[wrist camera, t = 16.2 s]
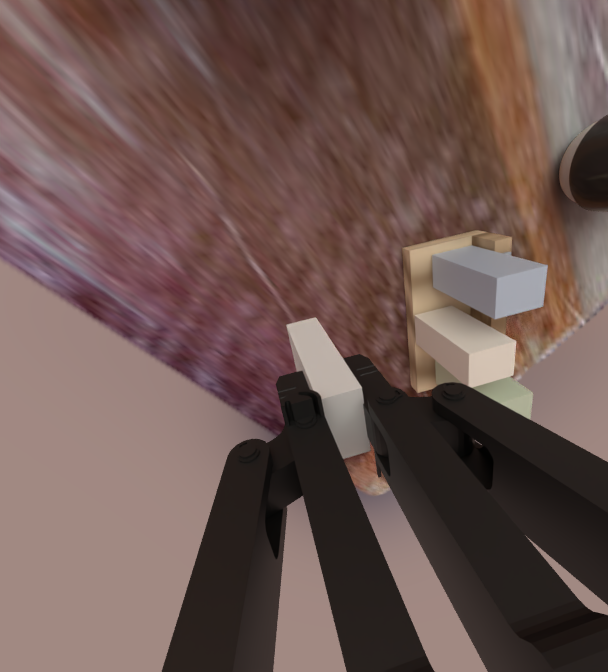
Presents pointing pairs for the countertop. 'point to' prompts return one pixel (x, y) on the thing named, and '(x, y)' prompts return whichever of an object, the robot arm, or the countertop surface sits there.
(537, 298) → the slate key
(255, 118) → the countertop surface
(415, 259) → the wooden key holder base
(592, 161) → the pump dispenser
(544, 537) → the robot arm
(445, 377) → the pale green tall block
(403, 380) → the countertop surface
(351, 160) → the countertop surface
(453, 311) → the cream rectangular block
